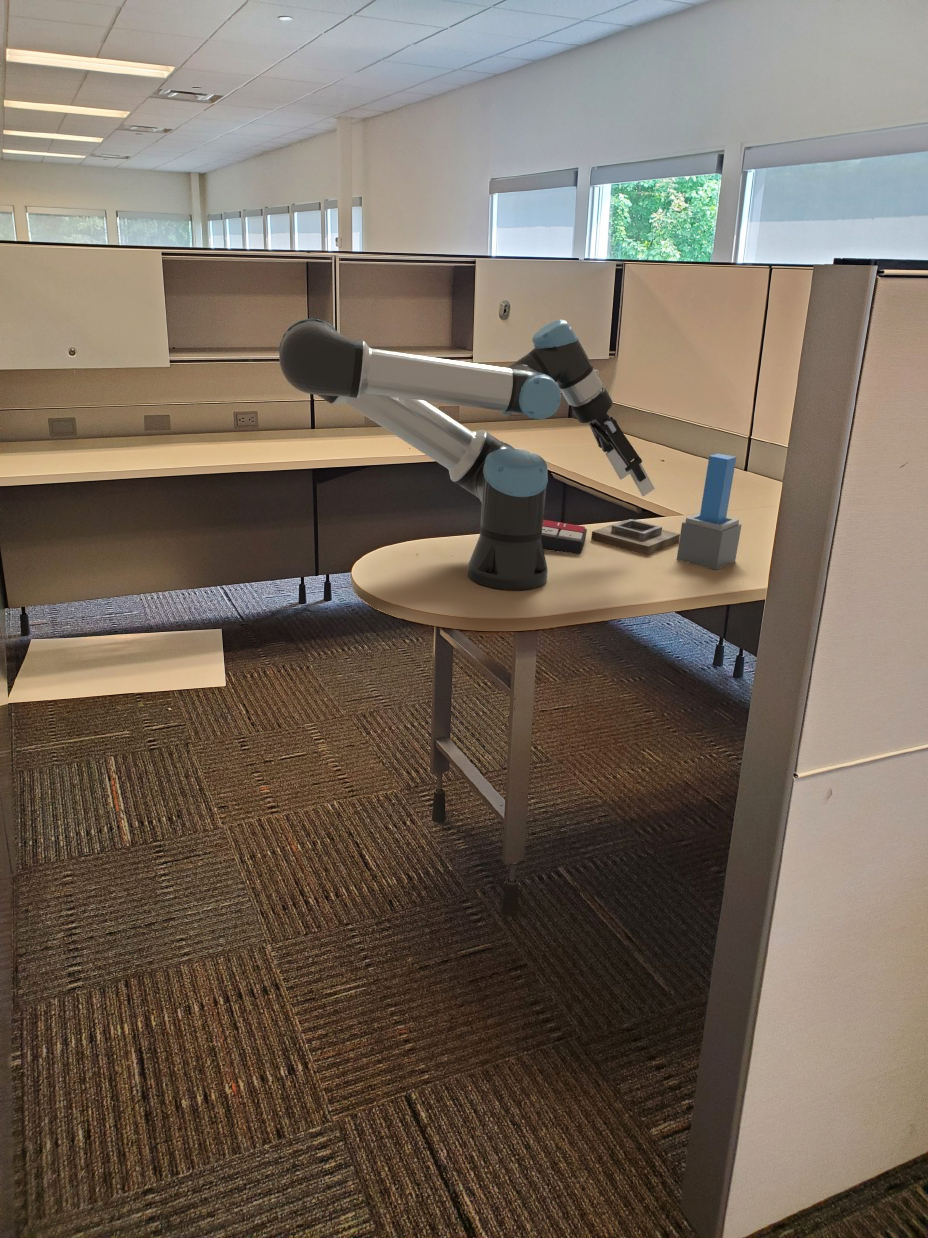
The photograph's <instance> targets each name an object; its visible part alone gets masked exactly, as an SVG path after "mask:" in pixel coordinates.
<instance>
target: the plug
mask: <svg viewBox="0 0 928 1238" xmlns="http://www.w3.org/2000/svg"><path fill="white" fill-rule="evenodd" d="M736 460H737V456H733V455H729V454H722V453H716V454H711V455H709V456H708V461H707V462H708V463H707V467H706V468H707V469H706V475H705V482H704V486H703V495H702V500H701V506H700V507H701V508H700V512H699V513H700V518H699V520H702V521H706V522H711V523H715V524H719V525H720V524H723V523H725V522H726V517H728V516H727V515H728V509H729V504H730V498H731V490H732V485H733V480H734V474H735V467H736V462H737V461H736Z"/></svg>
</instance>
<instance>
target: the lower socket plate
mask: <svg viewBox="0 0 928 1238" xmlns="http://www.w3.org/2000/svg"><path fill="white" fill-rule="evenodd" d="M592 540H593V542H597V543H600V544H603V545H608V546H610V547H614V546H615V548H618V547H619V548H618V549H622V550H625V551H629V552H633V553H637V554H639V555H644V556H650V555H652V554H655V553H657V552H659V551H661V550H664V549H666V548H669V547H672V546H674V545H677V544H679V540H680V533H677V532H674V531H669V530H665V529H663V526H660V525H657V524H653V523H648V522H644V521H640V520H636V519H634V518H632V519H631V518H630V519H626V520H622V521H619V522H616V523H613V524H610V525H607V526H603V527H601V528H598V529H595V530H592V532H591V538H590V541H592Z"/></svg>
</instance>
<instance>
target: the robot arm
mask: <svg viewBox="0 0 928 1238" xmlns="http://www.w3.org/2000/svg"><path fill="white" fill-rule="evenodd" d="M532 343H533V347H534V348H533V349H531V351H529V352H528V353H526V354H524V355H523V357H521V358H519V359H518V360H516V361H515V362H513V363H512V364H510V365H509V366H507V367H501V366H494V365H489V364H488V365H487V364H483V363H481V364H480V363H474V362H467V361H460V360H454V359H453V360H452V359H448V358H447V359H446V358H439V357H433V356H428V355H427V356H426V355H420V354H412V353H405V352H398V351H393V350H386V349H385V350H384V349H380V348H379V349H377V348H371V347H370V346H369V345H368V344H367V342H366V341H364V340H359V339H354V338H349V337H346V336H344V335H343V334H341V333H339V332H338V330H337V329H336V328H335V327H334V326H333V325H331V324H330V323H329V322H327V321H325V320H320V319H318V318H305V319H302V320H301V319H300V320H298V321H297V322H295V323H294V324H291V326H289V327H288V328H287V330H286V331H285V333H284V334H283V335H282V338H281V340H280V342H279V347H278V353H279V354H278V355H279V356H278V357H279V358H278V359H279V365H280V366H279V367H280V370H281V372H282V374H283V376H284V378H285V379H286V380H287V382H288V384H290V385H291V386H292V387H293V388H294V389H296V390H298V391H300V392H302V393H305V394H309V395H316V396H318V397H319V398H321V399H322V400H324V401H326V402H327V403H329V404H330V405H337V404H342V403H343V404H345V405H348V406H349V407H350V408H352V409H353V410H355V411H357V412H358V413H359V414H361V415H362V416H365V417H366V418H368V419H369V420H371V421H372V422H374V423H376V424H377V425H379V426H380V427H381V428H383V429H385V430H387V432H390V433H392V434H393V435H394V436H396V437H397V438H399V440H402V441H403V442H405V443H407V444H408V445H410V446H411V447H413V448H415V450H416V449H417V450H418V451H419V452H420V453H423V454H424V455H425V456H427V457H428V458H430V459H431V460H433V461H435V462H436V463H438V464H439V465H441V466H443V467H444V468H445V469H447V470H448V474H449V477H450V480H451V481H452V482H453V483H455V484H457V485H458V486H460V487H461V488H463V489H465V490H466V491H467V492H469V493H470V494H472V495H474V496H475V497H477V499H479V501H480V502H481V510H480V511H481V512H480V528H479V537H478V540H477V542H476V544H475V547H474V549H473V552H472V554H471V557H470V559H469V562H468V566H467V567H468V569H467V572H468V573H467V575H468V578H469V579H470V580H471V581H473V582H475V583H477V584H478V585H482V586H485V587H489V588H493V589H499V590H508V591H510V590H511V591H519V590H520V591H521V590H522V591H523V590H524V591H525V590H530V589H536V588H538V587H542V586H543V585H545V584H546V582H547V579H548V571H549V570H548V564H547V560H546V556H545V551H544V550H543V546H542V542H541V538H542V527H543V520H544V516H545V515H544V514H545V505H546V493H547V486H548V482H549V476H548V464H547V462H546V460H545V459H544V458H543V457H542V456H541V455H539V454H537V453H535V452H531V451H529V450H525V449H519V448H515V447H513V445H511V444H509V443H508V442H504V441H502V440H500V439H498V438H496V437H495V436H494V435H493V434H491V433H489V432H487V431H486V430H485V429H479V430H475V431H472V430H470V429H469V428H467V427H466V426H465V425H463V424H461V423H460V422H458V421H457V420H455V419H453V418H452V417H451V416H449V415H448V414H446V413H445V412H443V411H442V410H440V409H439V408H437V407H436V406H434V405H433V404H431V403H430V402H432V403H439V404H446V405H453V406H454V405H455V406H461V407H462V406H463V407H471V408H477V409H485V410H492V411H500V412H501V413H503V415H510V414H519V415H520V414H521V415H525V416H526V417H528V418H530V419H535V420H545V419H547V418H550V417H552V416H553V415H554V414H556V412H557V411H558V410H559V407H560V404H561V401H562V395H563V398H564V399H565V401H566V402H567V404H568V406H571V410H572V412H573V414H574V415H575V418H576V419H577V421H578V422H579V423H581V424H587V423H588V425H589V428H590V429H591V432H592V435H593V436H594V439H595V441H596V443H597V446H598V448H600V449H601V450H602V452H603V453H605V457H606V458H607V459H608V461H609V463H610V465H611V466H612V468H613V470H614V471H615V473H616V475H617V477H618V479H619V480H623V479H624V478H626V477H628V476H630V477H631V478H632V481H633V482H634V484H635V486H636V487H637V489H638V491H639V492H640V495H641V496H642V497H645V496H646V495H648V494H650V493H651V492H652V491H654V490H655V489H656V488H655V487H654V484H653V483H652V481H651V479H650V477H649V475H648V474H647V472H646V470H645V468H644V467H643V464H642V463H643V459H642V457H640V455H639V454H638V453H637V451H636V450H635V448H634V447H633V445H632V444H631V442H630V441H629V440H628V438H627V437H626V435H625V433H624V432H623V431H622V429H621V428H620V425H619V424H618V422H617V420H616V419H614V417H613V416H610V415H609V414H608V411H609V410H611V408H612V406H613V402H614V401H613V399H612V397H611V396H610V394H609V392H608V390H607V389H606V388H605V387H603V382H602V380H601V379H600V377H599V376H598V375H599V374H600V371H599V370H598V369H595V368H594V365H592V362H591V360H590V359H589V357H588V355H587V353H586V351H585V350H584V347H583V345H582V344H581V341H580V339H579V337H578V336H577V335H576V334H575V332H574V330H573V328H572V327H571V326H570V324H569V322H568V321H567V320H564V319H555V320H554V321H551V322H550V323H548V324H546V325H544V326H542V328H540V329H539V331H536V332H535V334H534V335H533V336H532Z"/></svg>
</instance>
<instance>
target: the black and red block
mask: <svg viewBox="0 0 928 1238" xmlns="http://www.w3.org/2000/svg"><path fill="white" fill-rule="evenodd" d="M587 532H588V529H587V528H586V527H585V526H584V525H579V524H571V523H567V522H560V521H553V520H547V519H543V527H542V538H541V542H542V546H543V550H545V551H549V550H550V551H551V552H557V551H559V553H568V554H577V555H581V554H582V553H583V552H582V551H583V550H584V549H583V548H584V545H585V543H586V539H587Z"/></svg>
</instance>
